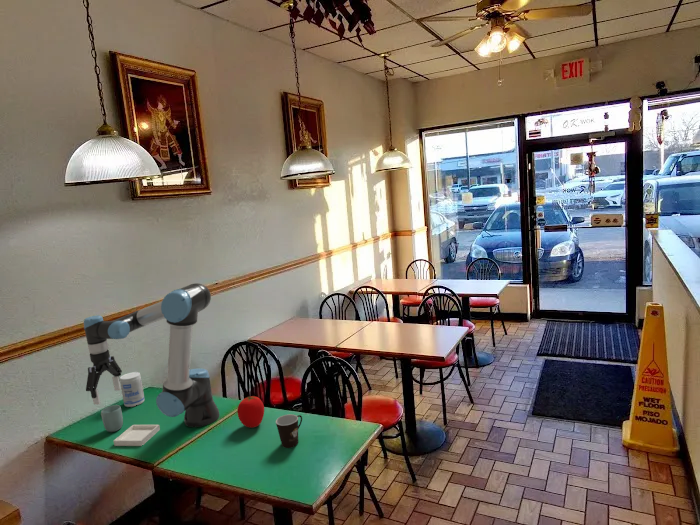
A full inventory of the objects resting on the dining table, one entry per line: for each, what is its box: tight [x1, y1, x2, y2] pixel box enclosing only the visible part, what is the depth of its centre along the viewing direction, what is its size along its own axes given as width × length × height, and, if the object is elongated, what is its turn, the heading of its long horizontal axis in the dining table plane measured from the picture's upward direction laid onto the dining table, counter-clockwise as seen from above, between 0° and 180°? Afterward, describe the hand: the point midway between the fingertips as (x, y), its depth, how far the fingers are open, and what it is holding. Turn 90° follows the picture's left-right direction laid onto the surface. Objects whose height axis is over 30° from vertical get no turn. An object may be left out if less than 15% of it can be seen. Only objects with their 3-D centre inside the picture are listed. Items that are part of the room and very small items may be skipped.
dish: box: [113, 424, 161, 447], centre depth 205 cm, size 13×13×2 cm
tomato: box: [236, 395, 265, 429], centre depth 203 cm, size 11×11×13 cm
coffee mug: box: [275, 413, 303, 449], centre depth 187 cm, size 12×9×10 cm
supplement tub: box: [119, 371, 145, 408], centre depth 240 cm, size 10×10×15 cm
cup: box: [100, 404, 124, 433], centre depth 214 cm, size 8×8×10 cm
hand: (107, 396), depth 212 cm, fingers open, 13 cm apart
